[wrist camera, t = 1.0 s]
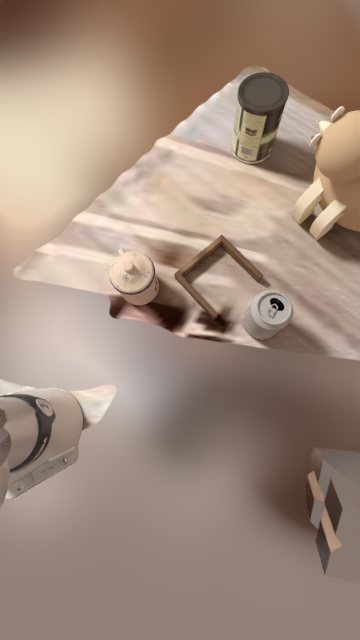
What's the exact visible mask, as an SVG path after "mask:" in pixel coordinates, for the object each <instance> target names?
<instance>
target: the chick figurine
mask: <svg viewBox="0 0 360 640" xmlns="http://www.w3.org/2000/svg"><path fill="white" fill-rule="evenodd" d="M344 109H345V108H344V107H342V106H341V107H339V108H338V109H337V110H334V111H333V115H332V117H331V122H332V123H330V122H326V121H321V122H320V123H319V127H320V130H321V133H322V134H321V133H319V134H317V135H316V136H312V138H311V142H310V144H309V146H310V147H314V146H316V145H317V148H316V154H315V156H316V167H315V171H314V183H313V184H312V185H311V186H310V187H309V188H308V189H307V190H306V191H305V192H304V193H303V194H302V196H301V197H300V198H299V199H298V201H297V202H296V204H295V205H294V208H293V212H292V216H293V218H294V219H295V220H296V221H297V222H298V223H299V224H301V223H302V222H303V221H304V220H305V219H306V218H308V217H309V216H310V215H311V214H312V213H313V212H314V208H315V206H316V205H317V204H318V203H319V204H320V206H321V208H322V210H323V212H322V213H321V214H320V215H319V216H318V217H317V218H316V219H315V221H314V222H313V223H312V226H311V228H310V233H311V234H312V235H313V236H314V238H315V239H316V240H318V239H320V238H321V237H322V236H323V235H324V234H326V233H327V232H328V231H329V230H330V229H331V228H333V225H334V223H335V222H336V223H337V224H339V225H340V226H342V227H345V228H347V229H350V230H353V231H358V232H360V110H359V111H352V112H349V113H346V114H344V115H342V114H343V112H344ZM341 115H342V116H341Z"/></svg>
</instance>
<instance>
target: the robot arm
mask: <svg viewBox="0 0 360 640" xmlns="http://www.w3.org/2000/svg"><path fill="white" fill-rule="evenodd" d="M82 427H83V416H82V411H81V408H80V406H79V404H78V402H77V400H76V399H75V398H74V397H73V396H72V395H71V394H70V393H68V392H67V391H65V390H62V389H59V388H45V389H38V388H35V387H32V386H26V387H23V388H22V389H21V390H20V391H17V392H11V393H8V394H7V395H3V396H0V508H1V506H2V504H3V501H4V499H5V498H6V499H12V498H15V497H17V496H18V495H20V494H22V493H24V492H25V491H27V490H28V489H30V488H32V487H34V486H35V485H37V484H39V483H41V482H42V481H44V480H46V479H47V478H49V477H51V476H52V475H54V474H56V473H58V472H59V471H61V470H63V469H65V468H66V467H68V466H70V465H71V464H73V463H75V462H76V460H77V458H78V441H79V438H80V435H81V432H82ZM65 458H66V459H67V462H65V461H64V459H65ZM311 464H312V466H313V470H314V471H313V472H312V473H310V474H309V475H308V476H307V482H306V504H307V510H308V514H309V518H310V521H311V522H312V523H313V524H314V525H315V526H316V528H317V529H318V532H317V537H316V545H317V548H318V552H319V556H320V559H321V563H322V567H323V570H324V574H325V576H329V577H334V578H338V579H343V580H347V581H352V582H357V583H360V453H358V452H349V451H341V450H333V449H324V448H315V449H314V451H313V452H312V457H311Z"/></svg>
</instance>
